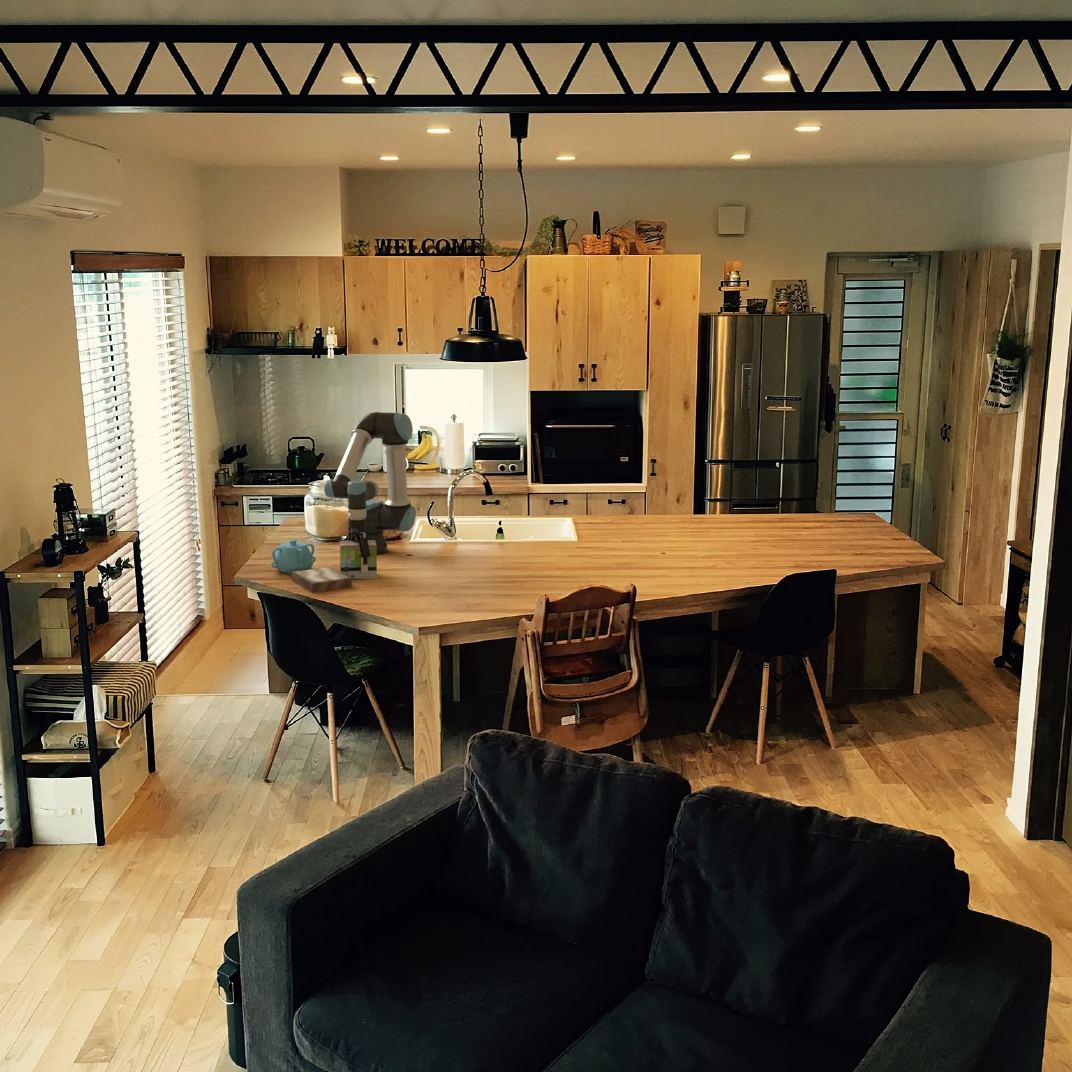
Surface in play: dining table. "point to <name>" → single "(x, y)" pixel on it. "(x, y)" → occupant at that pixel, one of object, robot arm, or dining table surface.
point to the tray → (321, 579)
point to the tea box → (357, 560)
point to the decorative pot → (293, 557)
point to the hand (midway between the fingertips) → (358, 568)
